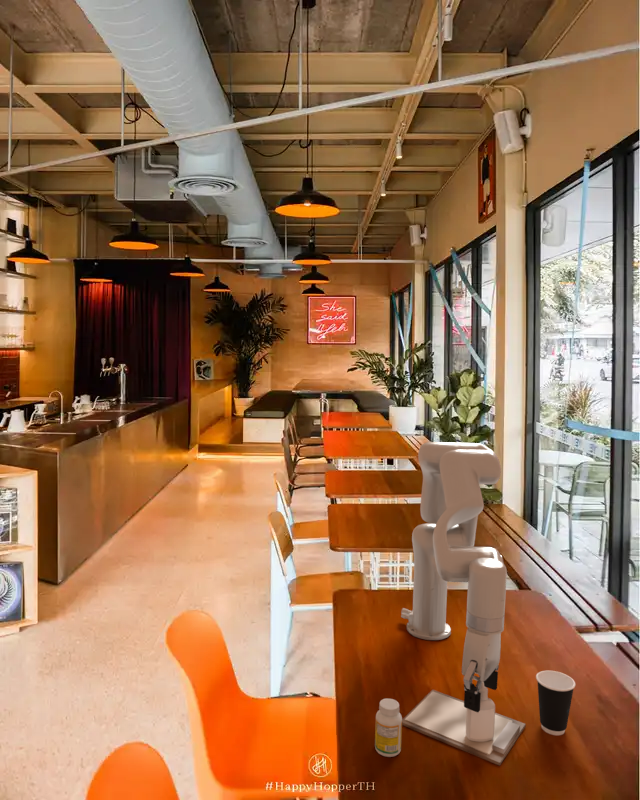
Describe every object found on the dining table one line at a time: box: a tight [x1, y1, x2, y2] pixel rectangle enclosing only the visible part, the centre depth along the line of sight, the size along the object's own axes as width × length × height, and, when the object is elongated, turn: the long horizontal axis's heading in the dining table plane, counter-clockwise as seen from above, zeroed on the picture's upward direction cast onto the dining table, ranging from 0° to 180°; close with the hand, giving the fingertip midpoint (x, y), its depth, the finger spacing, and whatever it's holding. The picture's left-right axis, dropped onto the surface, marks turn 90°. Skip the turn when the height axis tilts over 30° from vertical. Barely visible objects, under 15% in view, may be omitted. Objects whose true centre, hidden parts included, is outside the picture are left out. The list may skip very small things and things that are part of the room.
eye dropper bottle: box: [466, 682, 496, 742], centre depth 127 cm, size 4×6×12 cm
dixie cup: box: [535, 669, 576, 736], centre depth 132 cm, size 8×8×11 cm
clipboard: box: [402, 689, 526, 767], centre depth 133 cm, size 22×16×2 cm
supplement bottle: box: [374, 698, 403, 758], centre depth 124 cm, size 5×5×10 cm
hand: (480, 698), depth 128 cm, fingers open, 9 cm apart
